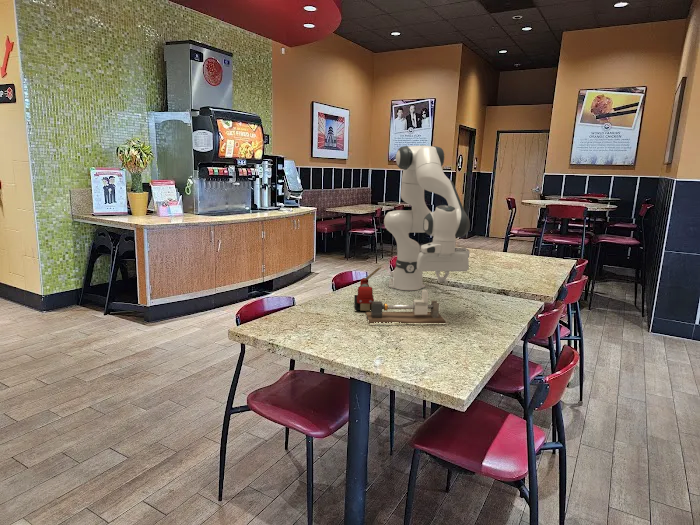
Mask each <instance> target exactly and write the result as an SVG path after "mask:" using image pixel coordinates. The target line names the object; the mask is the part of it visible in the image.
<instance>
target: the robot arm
mask: <svg viewBox="0 0 700 525" xmlns="http://www.w3.org/2000/svg"><path fill="white" fill-rule="evenodd" d="M395 162H396V166H397V167H398V168H399V169H400V170H403V171H402V174H401V183H400V184H401V185H400V186H401V187H400V198H401V200H402V201H403V202H405V203H406V204H408V205H410V206H411V209H408V210H404V209H397V210H392V211H388V212H387V213H386V214H385V215H384V217H383V218H384V219H383V224H384V227H385V229H386V231H388V232H389V233H390V234H392V236H393V237H394V240H395V242H396V248H397V249H396V250H397V252H396V253H397V256H396V261H395V268H394V269H393V271H391V272H390V273H389V275H390V277H391V278H389V279H388V286H387V287H388V288H391V289H397V290H401V291H417V290H420V289H421V290H422V288H423V289H424V288H426V285H425V284H424V283H423V272H435V275H436V277H437V282H438V283H447V278H448V276H450V272H467V271H469V269H470V268H469V267H470V266H469V264H470V263H469V262H470V261H469V258H470V249H468V248H466V247H456V243H457V238H462V237H464V236H465V235H466V234H467V233H469V231H470V226H471V223H470V218H469V217H468V215H467V213H466V211H465V209H464V207H463V204H462V201H461V199H460V196H459V193H458V191H457V189H456V185H455V184H454V182H453V180H451V179H450V178H448V176H446V174H445V173H444V171H443V165H444V163H445V152H444V149H442V147H440V146H436V145H434V146H432V145H431V146H430V145H409V146H408V145H405V146H400V147H399V148H398V149H397V152H396V154H395ZM425 191H427V192H430V193H433V194H436V195H439V196H441V197H442V198H444V200H446V202H447V205H446V204H440V205H437V206H436V207H435V210H434V211H431V210H430V209H429V208H428V206H427V203H426V201H425V200H426V199H425ZM410 233H415V234H417V233H425V234H427V235H428V236H431V237H433V238H432V241H431V242H428V243H424V244H421V245H420V243H419V242H418V241H416V240H415V239H412V238H410ZM441 272H444V275H443V276H440V275H441Z"/></svg>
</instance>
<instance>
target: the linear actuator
mask: <svg viewBox="0 0 700 525" xmlns="http://www.w3.org/2000/svg"><path fill="white" fill-rule="evenodd" d="M430 305H433V309H430V311H427V315H415V314H414V312H413V311H382V318H372V317H371V311H365V316H366V315H367V317H368V320H369V323H374V322H375V323H376V322H378V323H379V322H381V323H383V322H385V323H387V322H388V323H389V322H391V323H392V322H399V323H400V322H401V323H446V324H447V321H446V320H445V318H444V317H443V316H442V315H441V314H440V313H439V312H440V303H439V302H438V301H437V300H431V303H430ZM367 317H366V318H367ZM368 320H367V321H368ZM369 323H368V324H369Z"/></svg>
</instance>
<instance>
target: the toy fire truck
mask: <svg viewBox="0 0 700 525" xmlns="http://www.w3.org/2000/svg"><path fill="white" fill-rule="evenodd" d="M381 269H382V266H378V267H377V268H375V269H374V270H373V272H371V273H370V274H369V275H368V276H366V277H362V279H360V285H359V287H358V289H357V294H355V295H354V296H353V300H354V302H353V303H355V304H354V311H355V310H360V311H359V312H361V311H362V312H363V311H365V312H371V311H370V310H371V301H375V298H374V295H373V294H374V293H373V292H374V290H373V286H370V285H369V284H370V283H369V279H370V278H371V277H373V276H374V275H375V274H376V273H377V272H378V271H380V270H381Z"/></svg>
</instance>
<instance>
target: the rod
mask: <svg viewBox="0 0 700 525" xmlns="http://www.w3.org/2000/svg"><path fill="white" fill-rule="evenodd" d="M413 309H415V305H413V304H388V303H383V302H382V301H379V300H378V301H375V300H374V301H371V311H370V312H371V317H372V318H382V312H388V310H413ZM431 309H433V305H431V304H428V310H431Z"/></svg>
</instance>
